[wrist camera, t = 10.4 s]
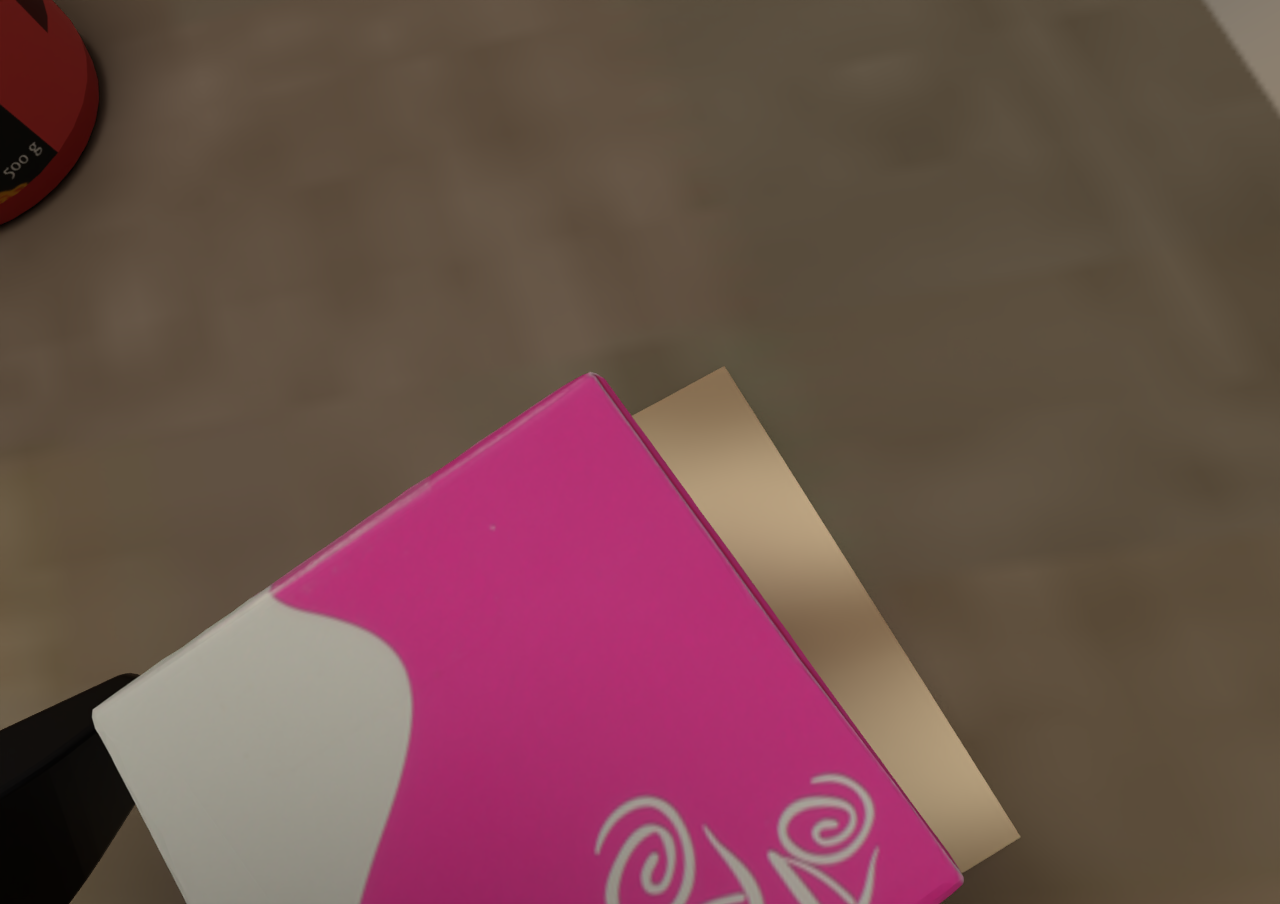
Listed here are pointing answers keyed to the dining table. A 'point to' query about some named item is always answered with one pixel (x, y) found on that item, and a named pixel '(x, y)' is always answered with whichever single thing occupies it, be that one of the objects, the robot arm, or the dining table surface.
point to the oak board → (823, 606)
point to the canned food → (41, 101)
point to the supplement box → (517, 708)
